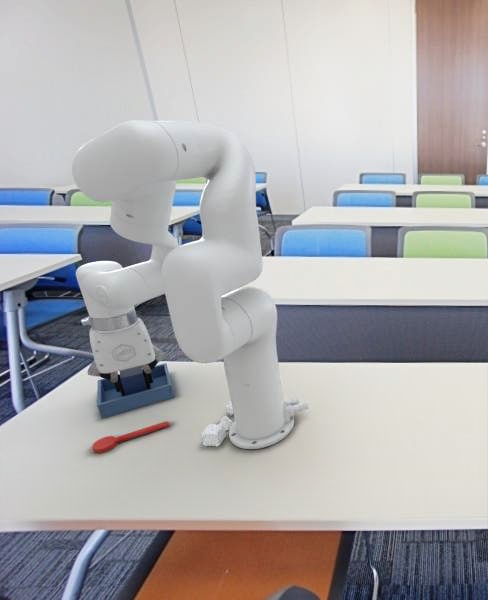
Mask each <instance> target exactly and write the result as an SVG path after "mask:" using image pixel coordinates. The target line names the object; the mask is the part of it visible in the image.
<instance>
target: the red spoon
mask: <svg viewBox="0 0 488 600" xmlns="http://www.w3.org/2000/svg"><path fill="white" fill-rule="evenodd" d="M169 426H170V422H169V421H163V422H159V423H157V424H153V425H150V426H147V427H144V428H141V429H137V430H134V431H131V432H128V433H125V434H122V435H119V436H113V435H109V436H104V437H101V438H99V439H97V440H96V441H95V442H94V443H93V444H92V446H91V447H92V450H93V452H94V453H95V454H101V453H103V454H104V453H107V452H109V451H111V450H113V449H114V448H116V446H117V444H120V443H123V442H125V441H128V440H129V441H130V440H131V439H135V438H138V437H140V436H144V435H146V434H150V433H152V432H156V431H159V430H162V429H165V428H168V427H169Z"/></svg>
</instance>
